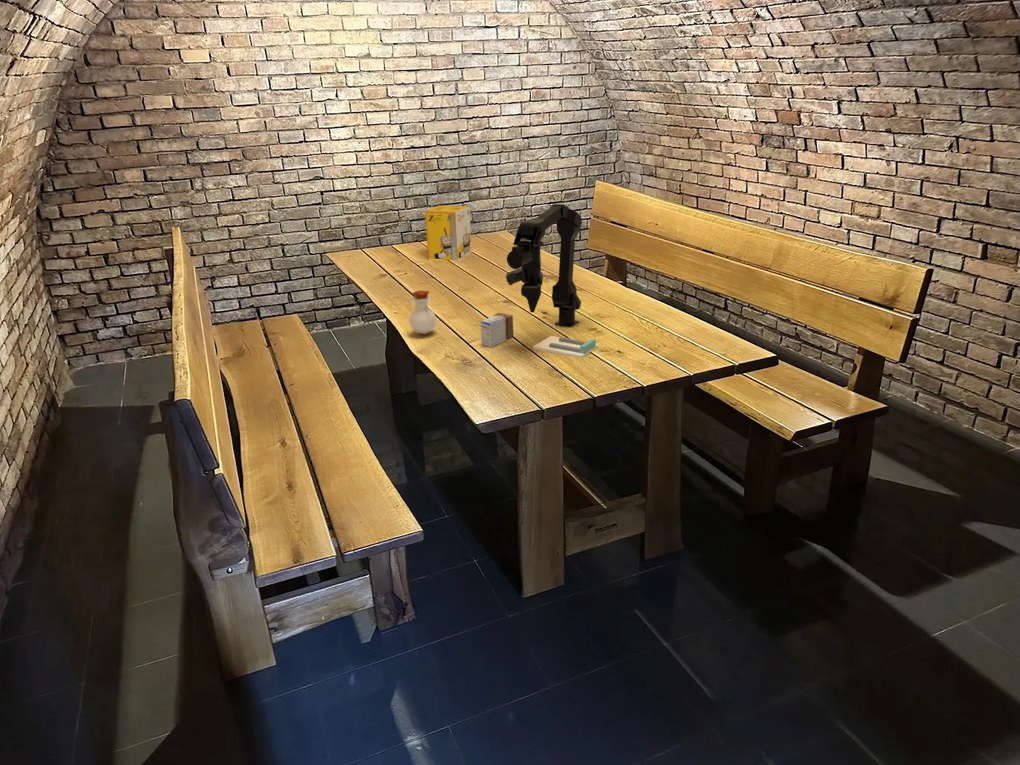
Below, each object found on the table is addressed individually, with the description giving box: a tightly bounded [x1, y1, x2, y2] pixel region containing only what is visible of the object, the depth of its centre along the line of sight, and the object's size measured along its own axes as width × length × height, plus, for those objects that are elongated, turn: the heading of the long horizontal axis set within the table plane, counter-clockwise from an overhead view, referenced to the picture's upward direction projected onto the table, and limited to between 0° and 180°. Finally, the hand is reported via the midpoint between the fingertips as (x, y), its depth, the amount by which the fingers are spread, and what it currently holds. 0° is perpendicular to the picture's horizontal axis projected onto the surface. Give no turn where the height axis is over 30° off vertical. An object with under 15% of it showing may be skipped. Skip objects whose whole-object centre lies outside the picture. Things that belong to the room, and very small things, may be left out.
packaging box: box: [424, 205, 472, 260], centre depth 359 cm, size 16×16×25 cm
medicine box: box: [480, 315, 507, 348], centre depth 247 cm, size 8×4×9 cm, turn 141°
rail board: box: [532, 335, 599, 359], centre depth 241 cm, size 12×18×4 cm, turn 57°
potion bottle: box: [409, 290, 437, 335], centre depth 256 cm, size 9×10×15 cm
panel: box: [492, 312, 515, 340], centre depth 252 cm, size 3×8×6 cm
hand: (533, 307), depth 240 cm, fingers open, 9 cm apart
